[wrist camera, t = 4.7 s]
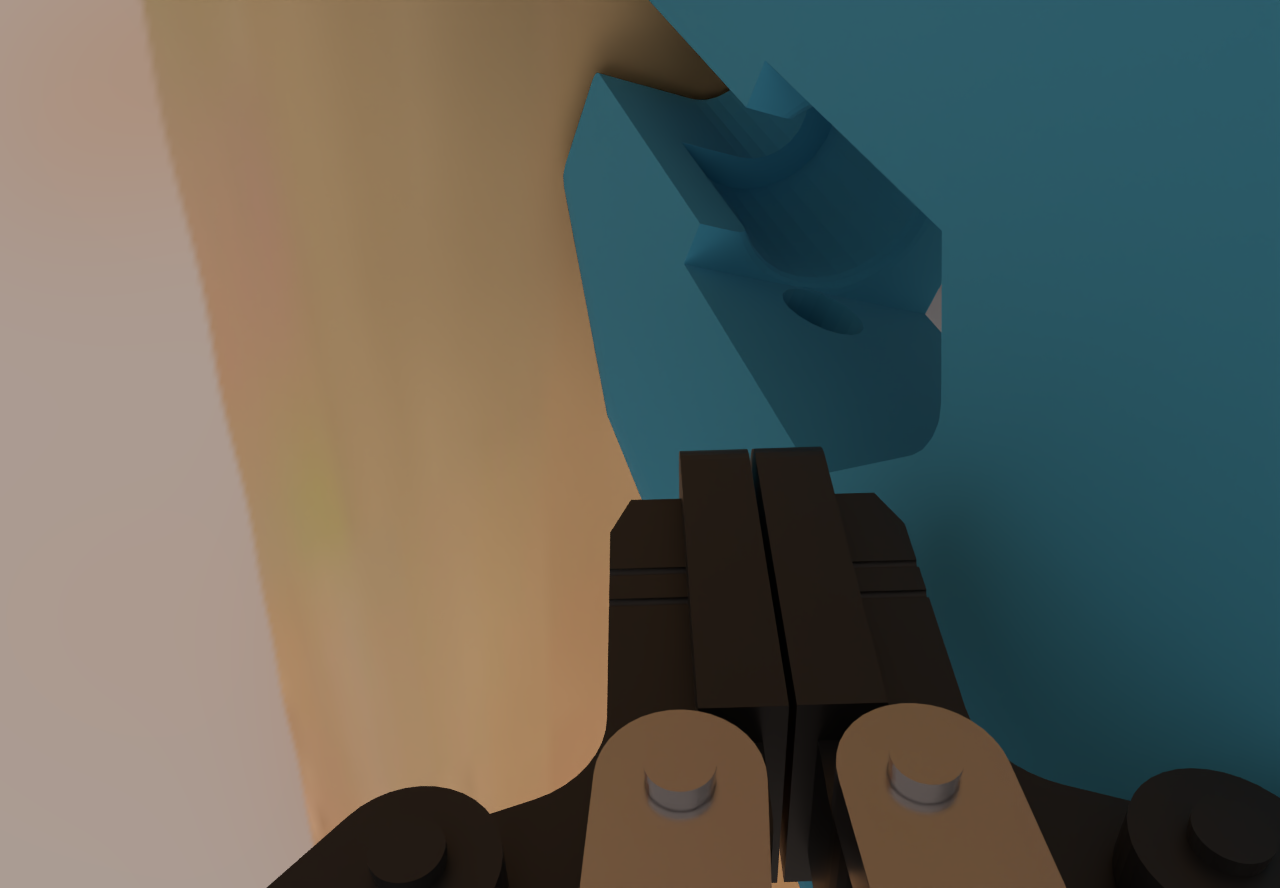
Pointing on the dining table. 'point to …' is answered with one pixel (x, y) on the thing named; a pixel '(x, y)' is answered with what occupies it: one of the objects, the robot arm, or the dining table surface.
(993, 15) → the block
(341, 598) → the dining table surface
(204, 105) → the dining table surface
